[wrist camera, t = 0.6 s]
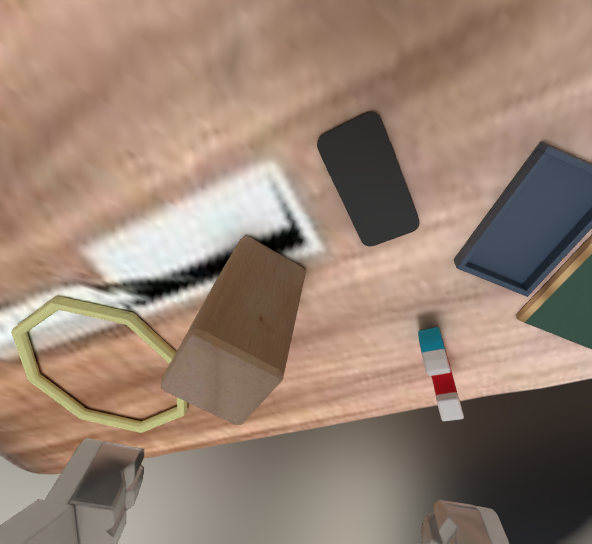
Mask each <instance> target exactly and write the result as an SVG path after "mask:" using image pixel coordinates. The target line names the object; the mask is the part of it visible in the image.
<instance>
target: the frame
mask: <svg viewBox="0 0 592 544" xmlns="http://www.w3.org/2000/svg"><path fill="white" fill-rule="evenodd" d="M57 310H63V311H67V312H72V313H76V314H81V315H85V316H90V317H95V318H99V319H104V320H108V321H113V322H117V323H122V324H126V325H127V326H129V327H130V328H131V329H132V330H133V331H134V332H135V333H136V334H137V335H138V336H140V337H141V338H142V339H143V340H144V341H145V342H146V343H147V344H148V345H150V346H151V347H152V348H153V349H154V350H155V351H156V352H157V353H158V354H160V355H161V356H162V357H163V358H164V359H165V360H166V361H167V362H168V363H169V364H170V363H171V361H172V359H173V357H174V356H175V354H176V351H175V350H174V349H172V348H171V347H170V346H169V345H168V344H167V343H166V342H165V341H164V340H163V339H162V338H161V337H160V336H158V335H157V334H156V333H155V332H154V331H153V330H152V329H151V328H150V327H149V326H148V325H147V324H146V323H144V322H143V321H142V320H141V319H140V318H139V317H138V316H137V315H136V314H135V313H133V312H128V311H124V310H119V309H115V308H110V307H106V306H101V305H96V304H92V303H87V302H83V301H78V300H74V299H69V298H65V297H60V296H58V297H56V298H54V299H52V300H51V301H50V302H48V303H47V304H46V305H44V306H43V307H41V308H40V309H39V310H37V311H36V312H35V313H33V314H32V315H31V316H29V317H28V318H27V319H25V320H24V321H22V322H21V323H20V324H18V325H17V326H16V327H14V328H13V330H12V332H11V333H12V336H13V338H14V341H15V344H16V347H17V350H18V353H19V356H20V358H21V361H22V364H23V367H24V370H25V373H26V376H27V378H28V381H30V382H31V383H32V384H34V385H35V386H36V387H38V388H39V389H40V390H42V391H43V392H45V393H46V394H47V395H49V396H50V397H51V398H53V399H54V400H55V401H57V402H58V403H60V404H61V405H62V406H64V407H65V408H66V409H68V410H69V411H70V412H72V413H73V414H74V415H76V416H77V417H79V418H80V419H83V420H87V421H91V422H96V423H100V424H105V425H109V426H113V427H118V428H122V429H127V430H131V431H135V432H140V433H142V432H144V431H147V430H149V429H152V428H154V427H157V426H159V425H162V424H164V423H167V422H169V421H172V420H174V419H177V418H179V417H182V416H184V415H185V414H186V412H187V402H186V401H184V400H182V399H180V398H177V407H175V408H172V409H170V410H168V411H165V412H163V413H160V414H158V415H156V416H153V417H151V418H149V419H146V420H144V421H137V420H133V419H128V418H124V417H120V416H115V415H111V414H106V413H102V412H98V411H93V410H89V409H86V408H85V407H84V406H82V405H81V404H80V403H78V402H77V401H76V400H74V399H73V398H72V397H70V396H69V395H68V394H66V393H65V392H64V391H62V390H61V389H60V388H58V387H57V386H56V385H54V384H53V383H52V382H50V381H49V380H48V379H46V378H45V377H44V376H42V375H41V374H40V372H39V369H38V365H37V362H36V359H35V356H34V353H33V350H32V347H31V343H30V340H29V337H28V334H27V332H28V331H29V330H31V329H32V328H33V327H35V326H36V325H38V324H39V323H40V322H42V321H43V320H45V319H46V318H47V317H49V316H50V315H52V314H53V313H55V312H56V311H57Z"/></svg>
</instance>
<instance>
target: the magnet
mask: <svg viewBox="0 0 592 544" xmlns="http://www.w3.org/2000/svg"><path fill="white" fill-rule="evenodd" d="M418 336H419V342H420V347H421V352H422V357H423V361H424V366H425V370H426V372H427V374H428V375H429V376H432V380H433V384H434V389H435V394H436V399H437V404H438V408H439V411H440V415H441V419H442V420H443V421H448V420H456V419H463V418H464V417H463V412H462V409H461V405H460V401H459V397H458V394H457V390H456V386H455V383H454V379H453V375H452V372H451V368H450V364H449V361H448V357H447V354H446V350H445V346H444V343H443V339H442V336H441V332H440V329H439V327H435V328H430V329H425V330H420V331H419V332H418Z"/></svg>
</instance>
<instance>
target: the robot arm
mask: <svg viewBox="0 0 592 544" xmlns="http://www.w3.org/2000/svg"><path fill="white" fill-rule="evenodd" d="M143 458H144V449H143V448H137V447H131V446H126V445H120V444H115V443H109V442H106V441H100V440H94V439H88V438H86V439H85V440H84V441H82V442H81V443H80V445H79V446H78V448H77V449H76V451H75V452H74V454H73V456H72V457H71V459H70V460H69V462H68V464H67V465H66V467H65V468H64V470H63V471H62V473H61V475H60V476H59V478H58V479H57V481H56V483H55V484H54V486H53V487H52V489H51V491H50V492H49V494H48V495H47V497H46V498H45V500H40V499H38V500H37V501H35V502H34V503H32V504H31V505H29V506H28V507H27V508H25V509H24V510H22V511H21V512H19V513H18V514H16V515H15V516H13V517H12V518H10V519H9V520H7V521H6V522H4V523H3V524H2V525H0V544H118V541H119V539H120V537H121V534H122V531H123V529H124V527H125V525H126V511H127V510H128V509H129V508H131V507H132V506H133V505H134V503H135V501H136V498H137V496H138V493H139V489H140V487H141V483H142V479H143V474H144V467H143V466H142V465H141V463H142V461H143ZM433 510H434V513H431V514H429V515H427V516H426V518H425V520H424V521H423V523H422V530H421V538H422V544H509V542H508V540H507V537H506V535H505V532H504V530H503V528H502V525H501V523H500V520H499V518H498V516H497V514H496V513H495V511H494V510H492V509H490V508H485V507H478V506H473V505H468V504H462V503H456V502H449V501H443V500H439V501H436V502H435V504H434V505H433Z"/></svg>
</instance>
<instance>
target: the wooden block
mask: <svg viewBox="0 0 592 544" xmlns="http://www.w3.org/2000/svg"><path fill="white" fill-rule="evenodd" d="M305 273H306V272H305V270H304V269H303V268H302V267H301V266H299V265H297V264H296V263H294V262H292V261H290V260H289V259H287V258H285V257H284V256H282V255H280V254H278V253H277V252H275V251H273V250H271V249H270V248H268V247H266V246H264V245H263V244H261V243H259V242H258V241H256V240H254V239H252V238H251V237H247V236H245V237H243V238H242V239H240V241H239V242H238V244H237V246H236V247H235V249H234V251H233V253H232V254H231V256H230V258H229V259H228V261H227V263H226V265H225V266H224V268H223V270H222V271H221V273H220V275H219V277H218V278H217V280H216V282H215V284H214V285H213V287H212V289H211V291H210V293H209V294H208V296H207V298H206V300H205V302H204V303H203V305H202V307H201V309H200V311H199V312H198V314H197V316H196V318H195V320H194V321H193V323H192V325H191V327H190V329H189V330H188V332H187V334H186V336H185V338H184V339H183V341H182V343H181V345H180V347H179V348H178V350H177V352H176V354H175V356H174V357H173V359H172V361H171V363H170V365H169V366H168V368H167V370H166V372H165V374H164V375H163V377H162V384H161V388H162V389H163V390H164V391H165V392H167V393H169V394H171V395H173V396H175V397H177V398H180V399H182V400H184V401H186V402H188V403H190V404H192V405H194V406H196V407H199V408H201V409H203V410H205V411H207V412H209V413H211V414H213V415H215V416H218V417H220V418H222V419H224V420H226V421H228V422H230V423H232V424H235V425H241V424H243V423H244V422H245V421H246V420H247V419H248V418H249V417H250V415H251V414H252V413H253V412H254V411H255V410H256V409H257V408H258V407H259V405H260V404H261V403H262V402H263V401H264V400H265V399H266V398H267V397H268V396H269V394H270V393H271V392H272V391H273V390H274V389H275V388H276V387H277V386H278V384H279V383H280V382H281V381H282V380H283V376H284V371H285V367H286V362H287V357H288V353H289V348H290V343H291V339H292V334H293V329H294V325H295V320H296V315H297V311H298V306H299V301H300V297H301V292H302V287H303V283H304V278H305Z"/></svg>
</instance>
